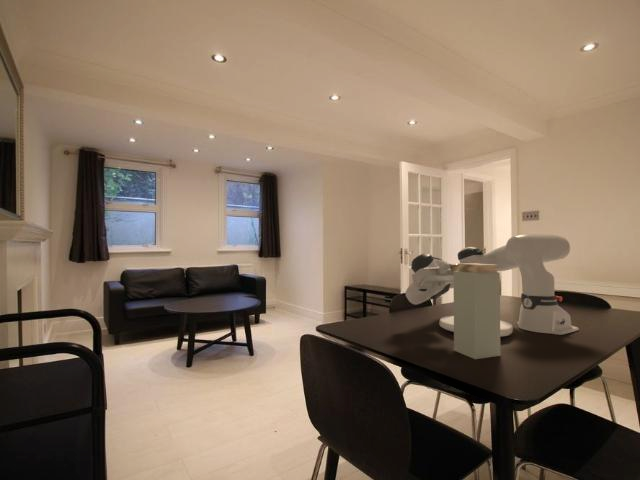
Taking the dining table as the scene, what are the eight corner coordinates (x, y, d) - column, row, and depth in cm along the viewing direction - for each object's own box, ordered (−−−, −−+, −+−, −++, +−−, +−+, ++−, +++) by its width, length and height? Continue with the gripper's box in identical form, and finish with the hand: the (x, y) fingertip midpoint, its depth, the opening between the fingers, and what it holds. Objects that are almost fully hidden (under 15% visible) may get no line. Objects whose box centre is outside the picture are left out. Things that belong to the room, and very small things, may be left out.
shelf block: (478, 347, 111) (477, 270, 112) (500, 355, 103) (499, 272, 103) (454, 350, 108) (453, 271, 109) (475, 359, 100) (474, 273, 100)
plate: (434, 312, 148) (499, 314, 142) (434, 327, 147) (499, 330, 142) (445, 319, 120) (525, 322, 115) (445, 337, 120) (526, 342, 114)
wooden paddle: (439, 269, 118) (439, 262, 118) (455, 268, 120) (455, 261, 120) (479, 273, 100) (479, 265, 100) (497, 272, 102) (497, 264, 102)
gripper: (457, 288, 128) (481, 272, 117) (412, 290, 122) (433, 274, 110) (451, 273, 131) (474, 257, 120) (407, 275, 125) (427, 258, 113)
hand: (454, 265), depth 115 cm, fingers closed on wooden paddle, 2 cm apart
